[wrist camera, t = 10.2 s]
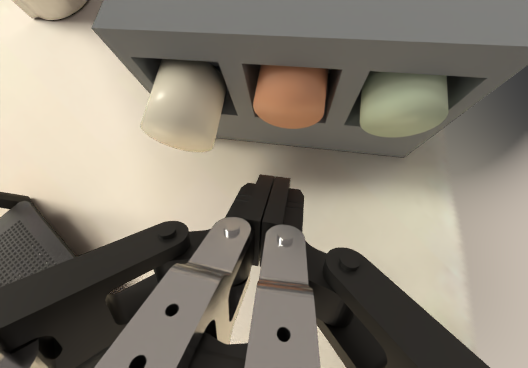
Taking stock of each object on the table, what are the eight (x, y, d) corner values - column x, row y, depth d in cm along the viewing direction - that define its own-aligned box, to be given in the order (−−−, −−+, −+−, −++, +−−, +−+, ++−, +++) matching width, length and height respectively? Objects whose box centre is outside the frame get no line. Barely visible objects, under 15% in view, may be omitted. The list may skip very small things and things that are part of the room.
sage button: (354, 80, 19) (377, 24, 14) (418, 84, 18) (465, 27, 14) (351, 133, 18) (375, 92, 13) (419, 140, 17) (470, 99, 12)
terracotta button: (266, 75, 20) (260, 21, 15) (324, 78, 19) (337, 23, 15) (257, 125, 19) (247, 84, 14) (318, 131, 18) (330, 90, 13)
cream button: (179, 97, 20) (145, 51, 15) (233, 101, 20) (215, 54, 15) (164, 148, 19) (123, 115, 14) (221, 155, 18) (198, 123, 14)
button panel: (200, 82, 27) (128, -57, 15) (404, 96, 24) (529, -62, 12) (186, 134, 26) (91, 28, 13) (404, 157, 23) (551, 47, 10)
